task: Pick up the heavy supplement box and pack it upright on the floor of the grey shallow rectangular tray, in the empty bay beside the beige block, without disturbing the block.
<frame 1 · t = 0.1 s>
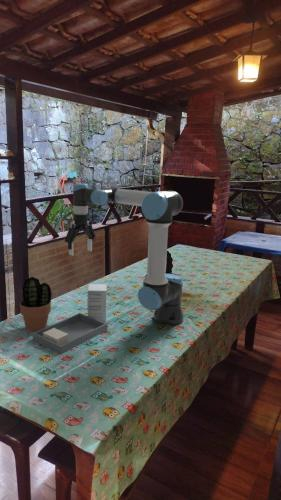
hand: (80, 252, 196), 28 cm above the table, fingers open, 13 cm apart
supplement box: (97, 319, 182), on the table
grey shallow rectangular tray: (71, 336, 163), on the table
potted plant: (36, 328, 170), on the table
beige block: (55, 341, 156), point 1 cm above the table, touching grey shallow rectangular tray
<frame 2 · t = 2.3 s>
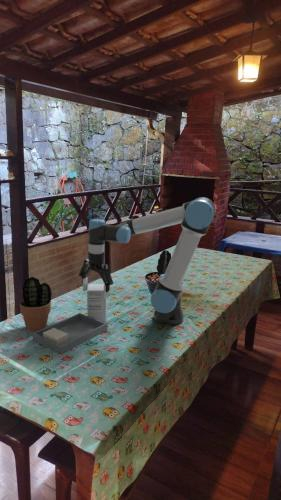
hand: (95, 294, 178), 13 cm above the table, fingers open, 13 cm apart
supplement box: (97, 319, 182), on the table, touching gripper
everything else where it was.
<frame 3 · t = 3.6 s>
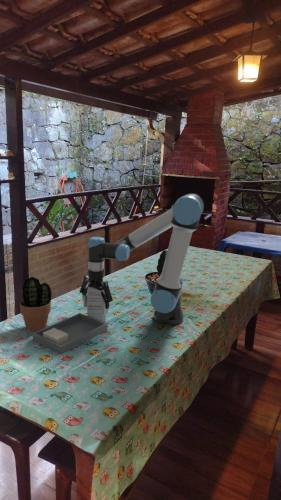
hand: (95, 310, 180), 5 cm above the table, fingers closed on supplement box, 13 cm apart
supplement box: (96, 319, 182), on the table, touching gripper
everything else where it was.
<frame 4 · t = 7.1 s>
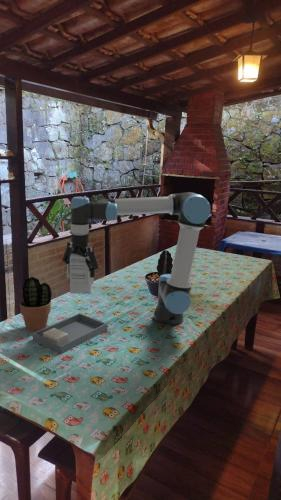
hand: (79, 280, 162), 25 cm above the table, fingers closed on supplement box, 13 cm apart
supplement box: (81, 290, 164), point 20 cm above the table, touching gripper
everything else where it was.
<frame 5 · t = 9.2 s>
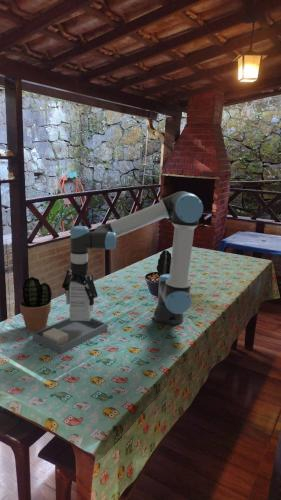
hand: (79, 307, 164), 12 cm above the table, fingers closed on supplement box, 13 cm apart
supplement box: (80, 316, 166), point 7 cm above the table, touching gripper
everything else where it was.
when the fingers open (6 cm above the table, at t = 11.1 s): supplement box stays where it is, resting on grey shallow rectangular tray.
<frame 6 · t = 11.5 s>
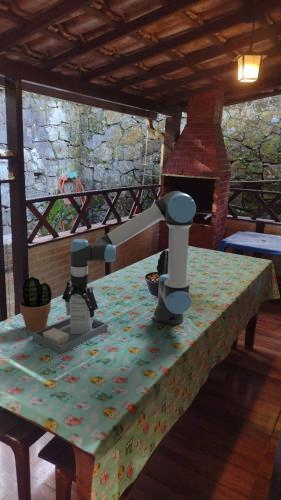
hand: (79, 319, 166), 7 cm above the table, fingers open, 13 cm apart
supplement box: (81, 330, 168), point 1 cm above the table, touching gripper, grey shallow rectangular tray
everything else where it was.
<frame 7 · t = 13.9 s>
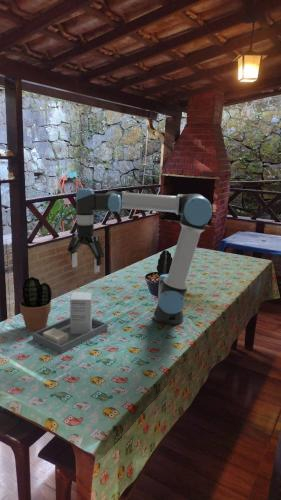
hand: (85, 269, 168), 28 cm above the table, fingers open, 13 cm apart
supplement box: (81, 330, 168), point 1 cm above the table, touching grey shallow rectangular tray
everything else where it was.
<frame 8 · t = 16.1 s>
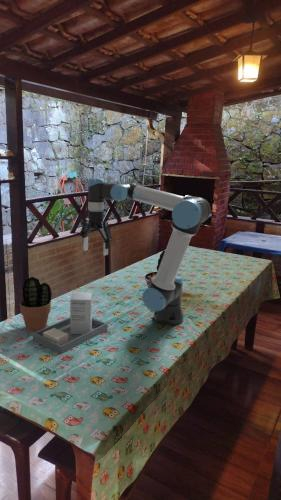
hand: (95, 252, 183), 32 cm above the table, fingers open, 13 cm apart
nothing on the table moved.
at the end: supplement box inside the target area on the grey shallow rectangular tray (0.8 cm from its centre), point 0.8 cm above the grey shallow rectangular tray's base; supplement box tilted 0°; beige block moved 0.0 cm from its start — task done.
